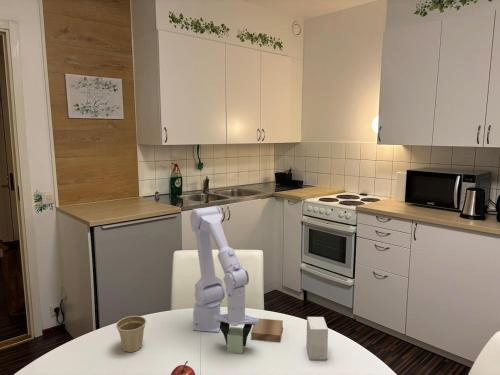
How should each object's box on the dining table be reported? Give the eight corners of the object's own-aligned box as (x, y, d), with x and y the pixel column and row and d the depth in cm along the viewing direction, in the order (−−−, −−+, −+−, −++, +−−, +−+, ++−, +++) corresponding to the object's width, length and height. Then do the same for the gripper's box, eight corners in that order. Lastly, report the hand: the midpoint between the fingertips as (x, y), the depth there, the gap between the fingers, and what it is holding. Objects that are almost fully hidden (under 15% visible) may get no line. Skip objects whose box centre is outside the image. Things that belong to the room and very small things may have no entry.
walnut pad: (251, 340, 129) (251, 332, 129) (255, 325, 139) (255, 318, 138) (280, 343, 128) (280, 335, 127) (282, 328, 137) (282, 320, 137)
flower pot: (112, 347, 124) (110, 323, 123) (137, 335, 131) (136, 312, 129) (126, 359, 118) (125, 333, 116) (152, 346, 125) (151, 322, 123)
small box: (327, 360, 118) (328, 329, 116) (309, 360, 118) (310, 329, 116) (322, 345, 126) (324, 316, 124) (306, 345, 126) (307, 316, 124)
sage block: (227, 352, 122) (227, 334, 121) (230, 343, 127) (230, 326, 126) (242, 353, 121) (242, 336, 120) (245, 344, 126) (245, 328, 125)
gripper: (211, 309, 119) (211, 348, 121) (256, 313, 116) (256, 353, 119) (216, 299, 126) (217, 336, 128) (259, 302, 123) (259, 340, 125)
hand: (236, 343), depth 124 cm, fingers closed on sage block, 5 cm apart
